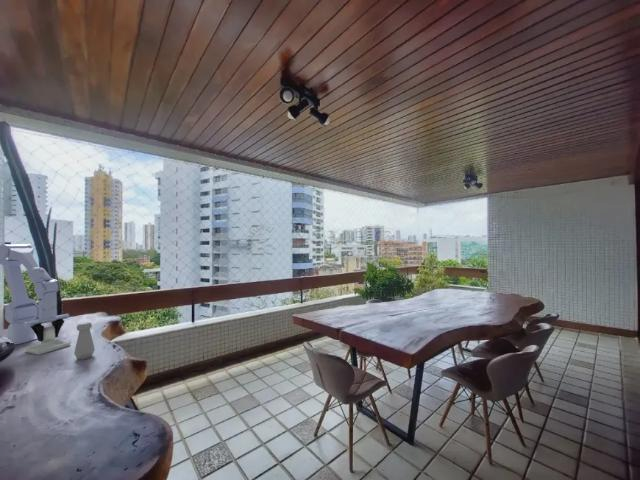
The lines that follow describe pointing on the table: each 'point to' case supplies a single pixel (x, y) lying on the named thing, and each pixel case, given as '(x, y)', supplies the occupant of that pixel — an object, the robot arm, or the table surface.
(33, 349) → the tray
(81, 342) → the salt shaker
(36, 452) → the table surface
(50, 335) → the white shaker
